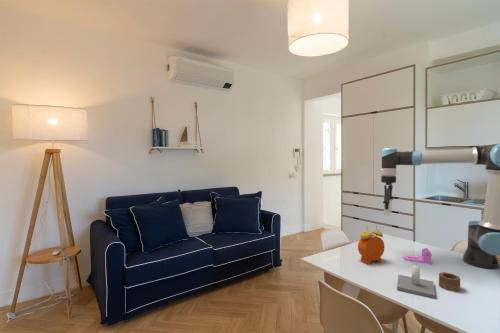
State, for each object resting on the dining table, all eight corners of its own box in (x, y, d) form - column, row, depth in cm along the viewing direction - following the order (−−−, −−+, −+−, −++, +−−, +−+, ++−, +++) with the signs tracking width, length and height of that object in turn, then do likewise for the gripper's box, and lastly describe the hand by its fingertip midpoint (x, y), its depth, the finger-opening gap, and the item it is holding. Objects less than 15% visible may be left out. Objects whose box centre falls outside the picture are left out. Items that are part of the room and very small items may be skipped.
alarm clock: (376, 257, 157) (377, 223, 156) (384, 261, 151) (385, 225, 150) (357, 260, 153) (357, 225, 152) (364, 264, 147) (365, 228, 146)
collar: (458, 285, 124) (458, 274, 124) (460, 292, 118) (461, 281, 118) (438, 281, 128) (438, 271, 128) (439, 288, 122) (440, 277, 121)
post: (433, 284, 125) (433, 264, 125) (435, 298, 113) (436, 276, 113) (398, 277, 132) (398, 258, 132) (397, 290, 120) (397, 268, 120)
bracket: (429, 260, 153) (429, 248, 153) (431, 264, 148) (431, 251, 148) (402, 257, 158) (403, 245, 158) (403, 260, 153) (404, 248, 153)
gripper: (383, 173, 167) (382, 208, 168) (378, 176, 146) (377, 216, 147) (397, 174, 163) (396, 209, 164) (394, 177, 142) (393, 218, 143)
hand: (387, 212), depth 156 cm, fingers open, 13 cm apart
